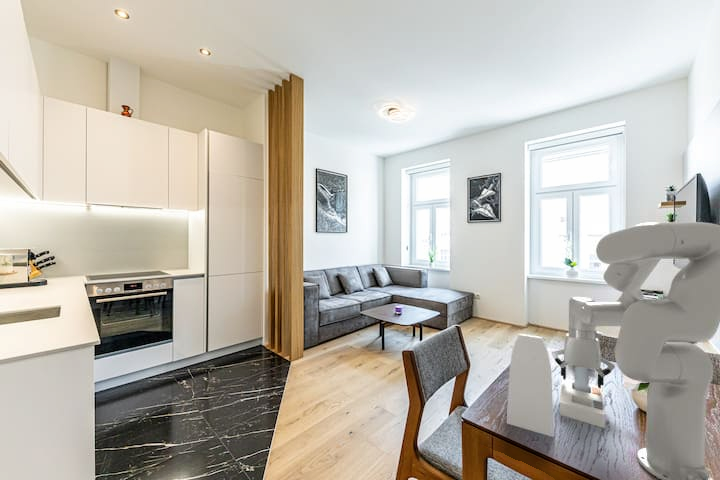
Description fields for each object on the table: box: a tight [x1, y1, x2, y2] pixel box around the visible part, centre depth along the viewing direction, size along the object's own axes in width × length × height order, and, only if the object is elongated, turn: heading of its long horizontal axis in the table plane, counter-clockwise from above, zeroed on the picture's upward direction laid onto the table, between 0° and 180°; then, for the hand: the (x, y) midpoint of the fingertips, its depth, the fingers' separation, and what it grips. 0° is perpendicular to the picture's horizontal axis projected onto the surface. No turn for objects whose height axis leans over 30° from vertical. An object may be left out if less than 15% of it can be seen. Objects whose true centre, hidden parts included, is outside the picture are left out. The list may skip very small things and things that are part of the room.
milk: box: [506, 333, 555, 438], centre depth 90 cm, size 12×12×26 cm
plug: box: [573, 365, 590, 393], centre depth 101 cm, size 4×4×12 cm
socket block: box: [559, 377, 606, 429], centre depth 97 cm, size 20×11×4 cm, turn 143°
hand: (581, 382), depth 101 cm, fingers open, 9 cm apart
